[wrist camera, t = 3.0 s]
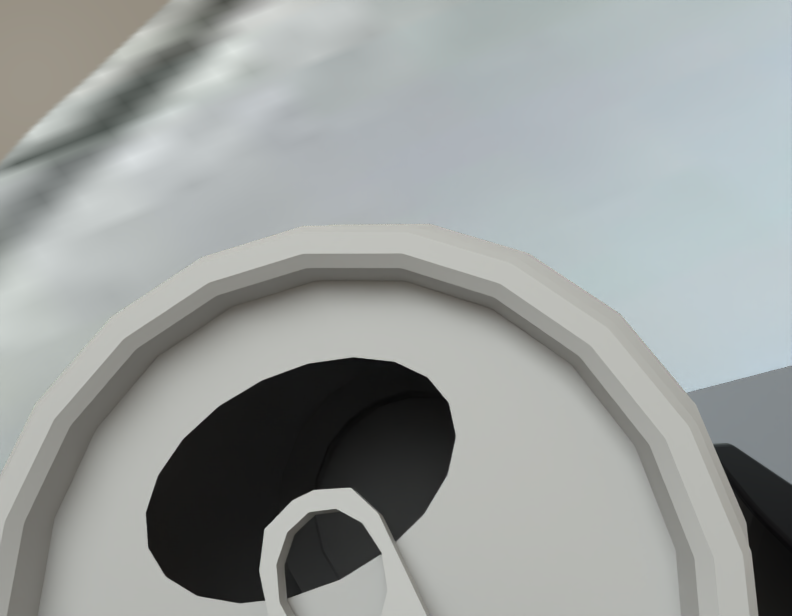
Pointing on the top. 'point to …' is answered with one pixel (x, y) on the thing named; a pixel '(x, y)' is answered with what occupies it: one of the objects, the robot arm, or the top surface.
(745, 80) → the top surface
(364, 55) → the top surface
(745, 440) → the baseplate
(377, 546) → the can
